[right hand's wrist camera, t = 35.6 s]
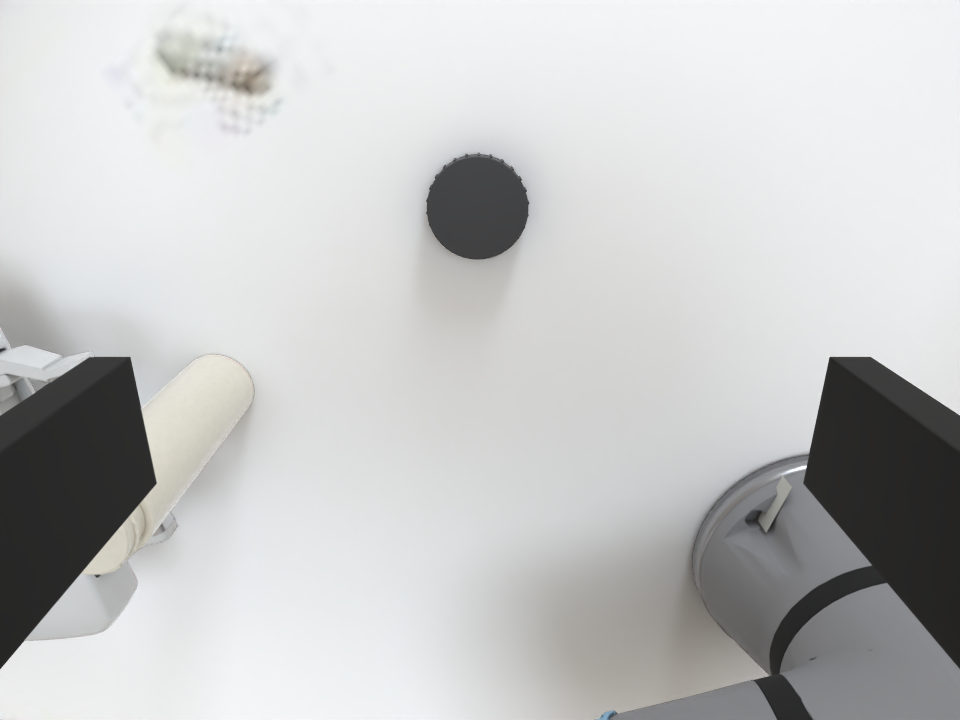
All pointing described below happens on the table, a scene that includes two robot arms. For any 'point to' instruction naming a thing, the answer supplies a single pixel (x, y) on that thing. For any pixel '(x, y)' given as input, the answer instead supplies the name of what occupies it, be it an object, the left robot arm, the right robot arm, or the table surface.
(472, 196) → the lid
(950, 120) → the table surface
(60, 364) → the left robot arm
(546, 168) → the table surface
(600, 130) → the table surface
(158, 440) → the cream cylinder
